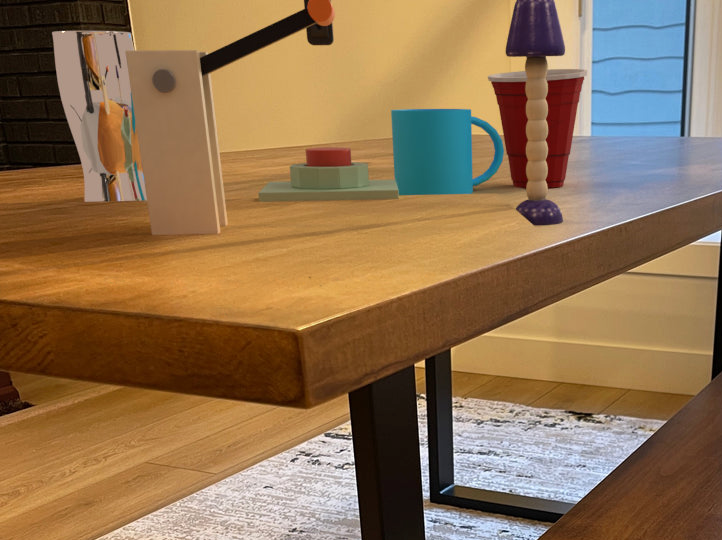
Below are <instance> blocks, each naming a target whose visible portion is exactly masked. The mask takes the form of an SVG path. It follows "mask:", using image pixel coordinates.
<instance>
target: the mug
mask: <svg viewBox="0 0 722 540" xmlns="http://www.w3.org/2000/svg"><path fill="white" fill-rule="evenodd" d="M390 114H391V118H390V119H391V133H392V134H391V135H392V155H393V157H392V158H393V174H394V180H396V183H397V187H398V192H399V196H435V195H436V196H437V195H438V196H439V195H440V196H441V195H444V196H445V195H471V194H473V193H474V187H477V186H479V185H481V184H483V183H485V182H487V181H489V180H490V179H491V178H492V177H493V176H494V175H495V174H496V173H497V172H498V170H499V169H500V167H501V165H502V163H503V161H504V152H505V149H504V143H503V139H502V138H501V136H500V134H499V132H498V130H497V128H494V126H492V125H491V124H490V123H489V122H488V121H486V120H483V119H481V118H479V117H476V116H472V109H470V108H406V109H405V108H404V109H403V108H402V109H391V111H390ZM472 125H474V126H476V127H478V128H481V129H482V130H483V131H484V132H485V133H486V134H488V136H489V137H490V140H491V141H492V143H493V148H494V153H493V159H492V162H491V163H490V165H489V167H488V169H486V170H485V171H484V172H483V173H481V174H479V175H478V176H476V177H473V137H472V134H473V133H472Z"/></svg>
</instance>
